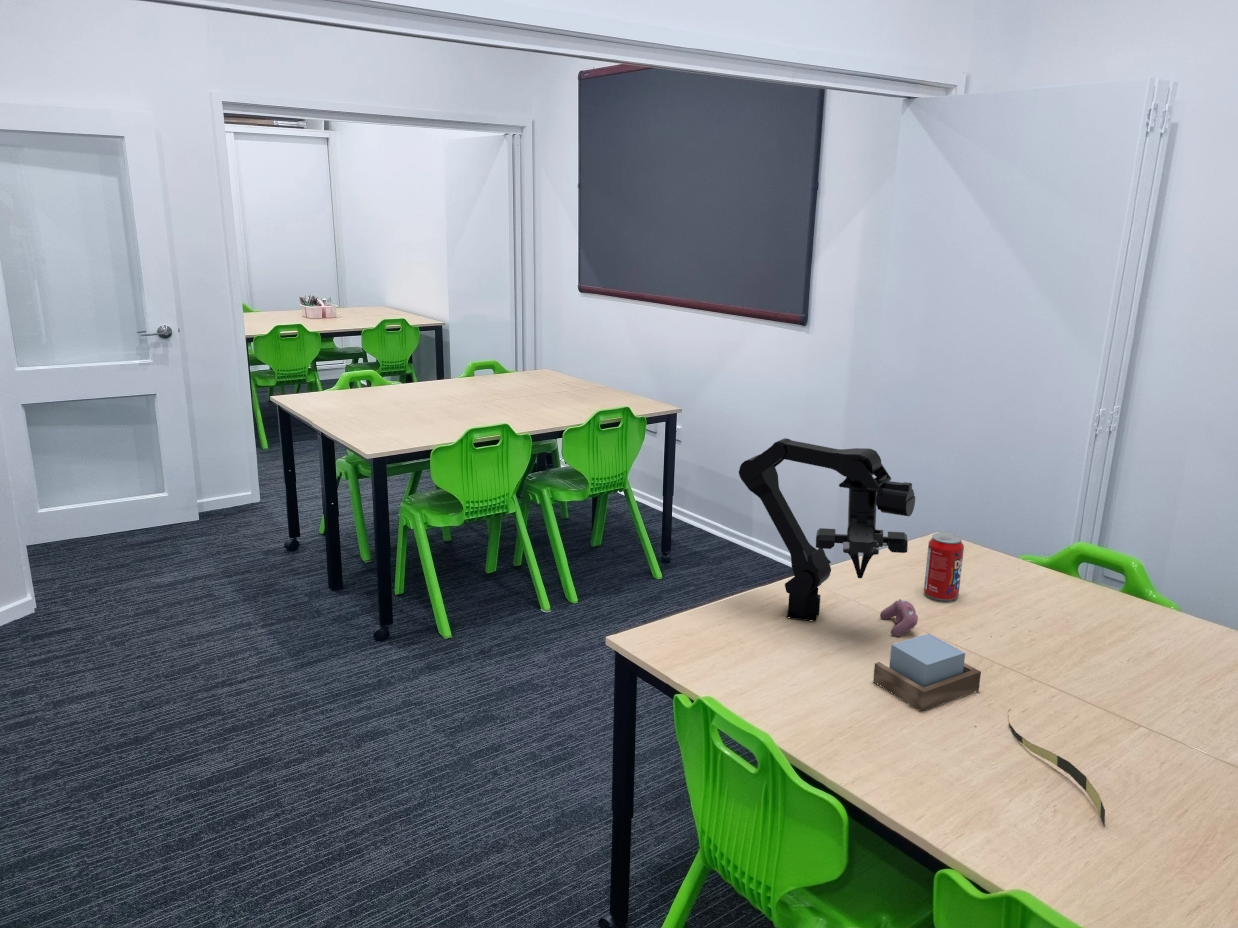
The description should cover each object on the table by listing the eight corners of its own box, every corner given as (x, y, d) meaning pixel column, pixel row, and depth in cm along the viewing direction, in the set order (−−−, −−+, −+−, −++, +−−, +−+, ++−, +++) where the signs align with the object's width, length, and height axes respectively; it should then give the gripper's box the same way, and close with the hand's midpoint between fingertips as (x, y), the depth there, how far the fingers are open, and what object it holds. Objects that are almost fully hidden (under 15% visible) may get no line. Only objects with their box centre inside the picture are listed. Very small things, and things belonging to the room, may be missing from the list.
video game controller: (907, 644, 191) (925, 617, 189) (889, 635, 191) (907, 609, 189) (894, 623, 201) (911, 598, 199) (877, 615, 200) (893, 589, 198)
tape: (1067, 830, 133) (1070, 809, 132) (987, 696, 169) (989, 678, 168) (1109, 831, 132) (1112, 809, 131) (1019, 696, 168) (1021, 678, 167)
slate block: (888, 681, 173) (891, 644, 171) (925, 669, 178) (929, 633, 175) (922, 703, 166) (926, 664, 163) (960, 690, 170) (965, 652, 168)
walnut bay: (873, 681, 173) (874, 663, 172) (929, 662, 180) (930, 644, 179) (921, 711, 163) (923, 692, 161) (978, 690, 170) (981, 671, 169)
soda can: (916, 591, 213) (922, 533, 209) (944, 587, 216) (950, 529, 212) (936, 605, 206) (943, 544, 202) (965, 600, 209) (972, 541, 204)
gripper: (815, 518, 182) (813, 589, 186) (910, 522, 177) (906, 595, 181) (817, 502, 192) (816, 569, 196) (907, 506, 188) (904, 575, 191)
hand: (859, 577), depth 191 cm, fingers closed
